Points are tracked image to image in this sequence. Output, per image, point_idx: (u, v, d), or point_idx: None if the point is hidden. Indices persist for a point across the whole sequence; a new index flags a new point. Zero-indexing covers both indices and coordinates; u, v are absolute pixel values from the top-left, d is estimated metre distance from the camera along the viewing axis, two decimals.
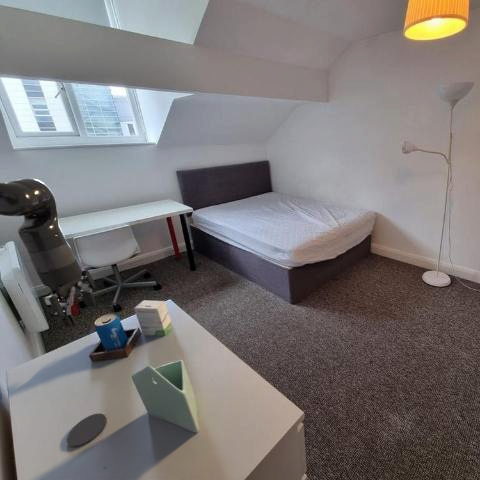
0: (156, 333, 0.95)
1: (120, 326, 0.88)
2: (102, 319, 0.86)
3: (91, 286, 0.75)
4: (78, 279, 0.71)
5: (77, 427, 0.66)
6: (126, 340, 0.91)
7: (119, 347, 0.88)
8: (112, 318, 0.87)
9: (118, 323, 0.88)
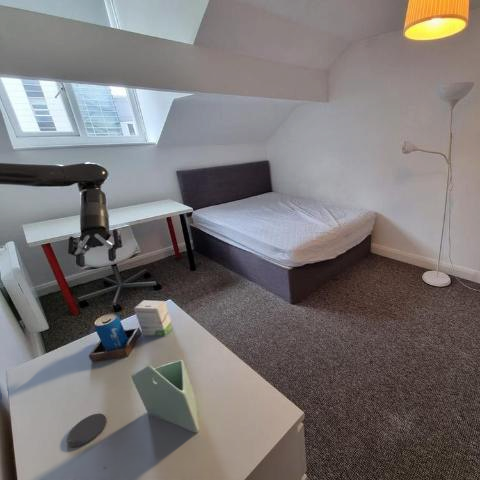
0: (156, 333, 0.95)
1: (120, 326, 0.88)
2: (102, 319, 0.86)
3: None
4: None
5: (77, 427, 0.66)
6: (126, 340, 0.91)
7: (119, 347, 0.88)
8: (112, 318, 0.87)
9: (118, 323, 0.88)
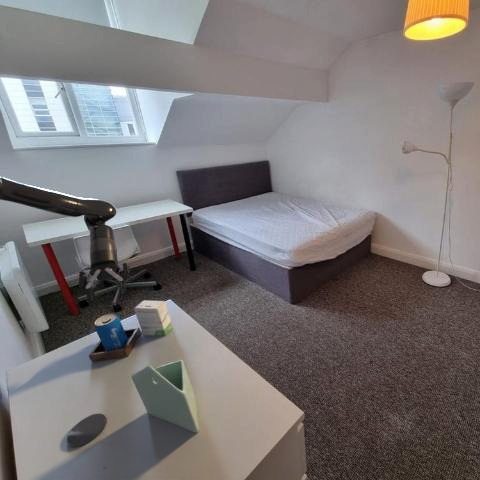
0: (156, 333, 0.95)
1: (120, 326, 0.88)
2: (102, 319, 0.86)
3: None
4: None
5: (77, 427, 0.66)
6: (126, 340, 0.91)
7: (119, 347, 0.88)
8: (112, 318, 0.87)
9: (118, 323, 0.88)
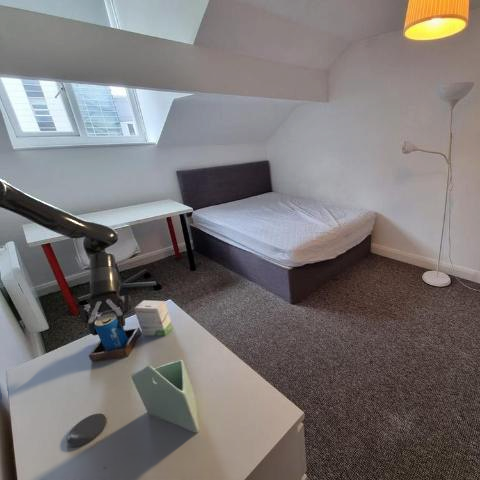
0: (156, 333, 0.95)
1: None
2: (102, 319, 0.86)
3: None
4: None
5: (77, 427, 0.66)
6: (126, 340, 0.91)
7: (119, 347, 0.88)
8: (112, 318, 0.87)
9: None
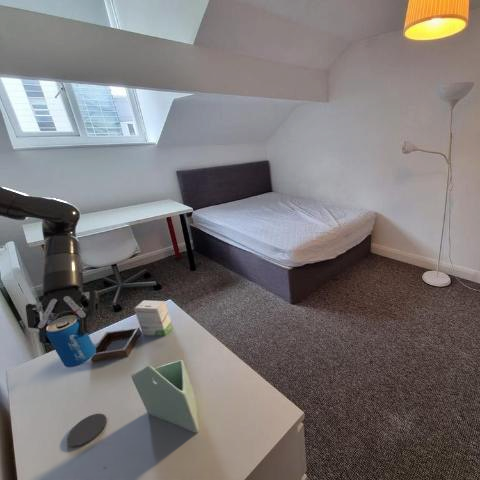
0: (156, 333, 0.95)
1: None
2: (58, 322, 0.65)
3: None
4: None
5: (77, 427, 0.66)
6: (92, 350, 0.69)
7: (81, 359, 0.67)
8: (72, 320, 0.65)
9: None
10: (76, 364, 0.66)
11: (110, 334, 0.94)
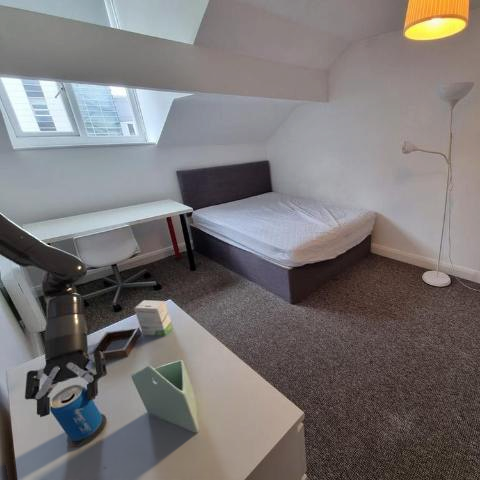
0: (156, 333, 0.95)
1: (88, 402, 0.63)
2: (62, 395, 0.62)
3: None
4: None
5: None
6: (98, 419, 0.66)
7: (87, 432, 0.63)
8: (77, 392, 0.62)
9: (86, 399, 0.63)
10: (81, 437, 0.63)
11: (110, 334, 0.94)
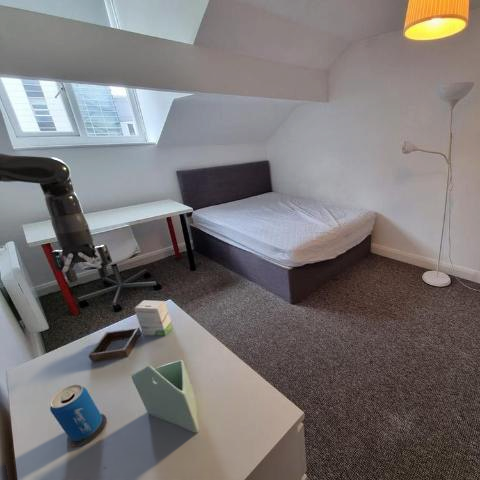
0: (156, 333, 0.95)
1: (88, 402, 0.63)
2: (62, 395, 0.62)
3: None
4: None
5: None
6: (98, 419, 0.66)
7: (87, 432, 0.63)
8: (77, 392, 0.62)
9: (86, 399, 0.63)
10: (81, 437, 0.63)
11: (110, 334, 0.94)
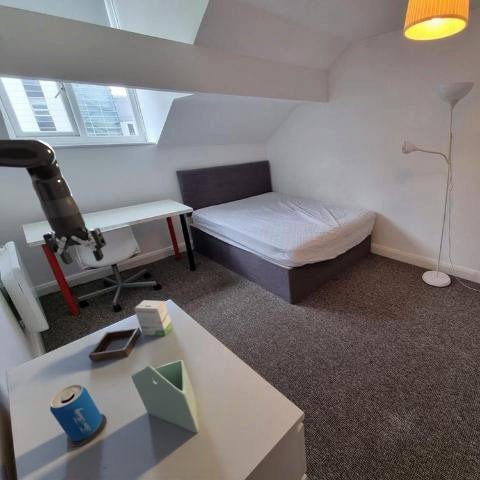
0: (156, 333, 0.95)
1: (88, 402, 0.63)
2: (62, 395, 0.62)
3: (58, 247, 0.82)
4: None
5: None
6: (98, 419, 0.66)
7: (87, 432, 0.63)
8: (77, 392, 0.62)
9: (86, 399, 0.63)
10: (81, 437, 0.63)
11: (110, 334, 0.94)
